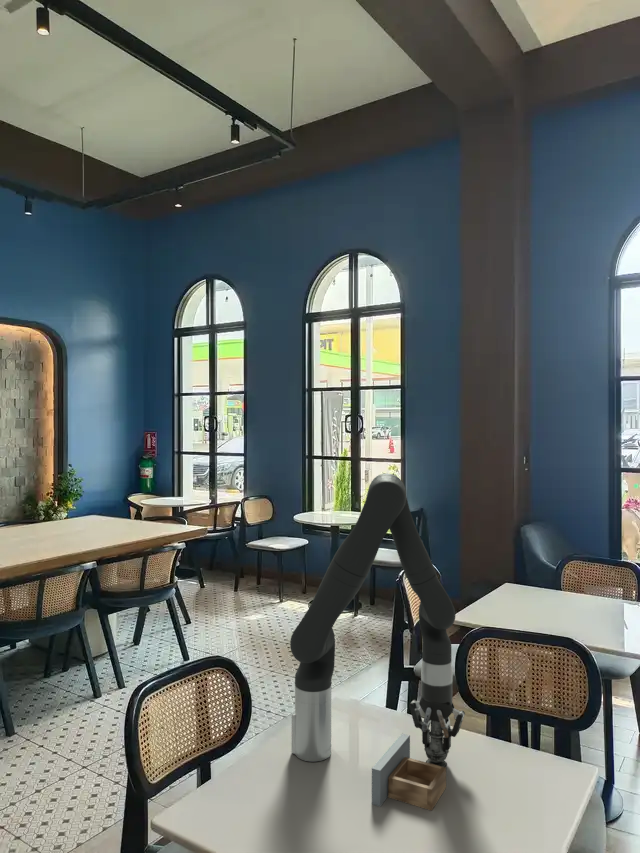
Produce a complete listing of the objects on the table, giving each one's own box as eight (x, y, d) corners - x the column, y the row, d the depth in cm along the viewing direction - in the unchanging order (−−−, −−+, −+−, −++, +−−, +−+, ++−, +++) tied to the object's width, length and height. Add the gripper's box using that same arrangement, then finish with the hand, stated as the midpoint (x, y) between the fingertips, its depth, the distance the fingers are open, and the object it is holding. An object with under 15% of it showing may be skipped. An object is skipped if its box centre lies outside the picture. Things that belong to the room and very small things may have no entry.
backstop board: (371, 804, 140) (371, 768, 140) (402, 766, 156) (402, 733, 156) (380, 807, 139) (380, 770, 139) (409, 768, 155) (409, 735, 155)
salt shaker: (448, 771, 154) (448, 721, 154) (423, 769, 155) (423, 719, 155) (448, 759, 159) (449, 710, 159) (424, 756, 161) (424, 708, 160)
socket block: (388, 797, 143) (388, 777, 143) (404, 775, 151) (404, 756, 151) (431, 810, 138) (431, 789, 138) (446, 787, 147) (446, 767, 147)
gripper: (403, 678, 157) (403, 748, 157) (460, 689, 150) (460, 763, 150) (414, 667, 164) (414, 735, 164) (469, 678, 157) (469, 748, 157)
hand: (436, 748), depth 157 cm, fingers closed on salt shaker, 4 cm apart
